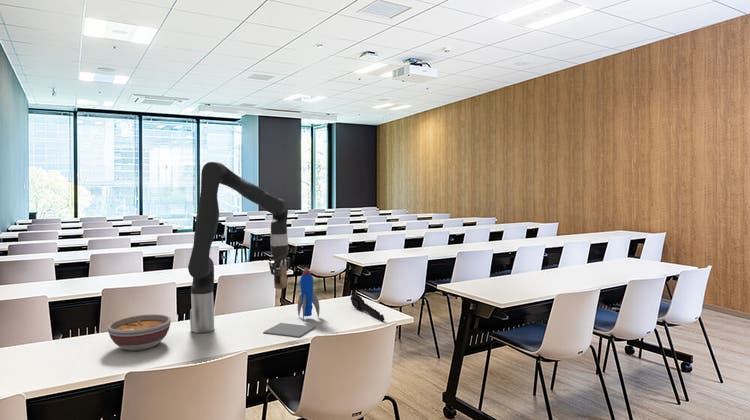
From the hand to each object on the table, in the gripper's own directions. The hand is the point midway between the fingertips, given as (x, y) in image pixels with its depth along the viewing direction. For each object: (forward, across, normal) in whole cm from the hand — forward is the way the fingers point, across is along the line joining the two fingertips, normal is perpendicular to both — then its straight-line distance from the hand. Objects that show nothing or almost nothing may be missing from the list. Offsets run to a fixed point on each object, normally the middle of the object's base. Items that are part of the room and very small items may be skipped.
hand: (280, 282), depth 212 cm
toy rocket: (+22, -17, +3) cm, 28 cm away
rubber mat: (+21, 0, +4) cm, 22 cm away
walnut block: (+2, 0, 0) cm, 2 cm away
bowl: (+21, +37, -43) cm, 61 cm away
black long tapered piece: (+22, -37, +25) cm, 50 cm away
